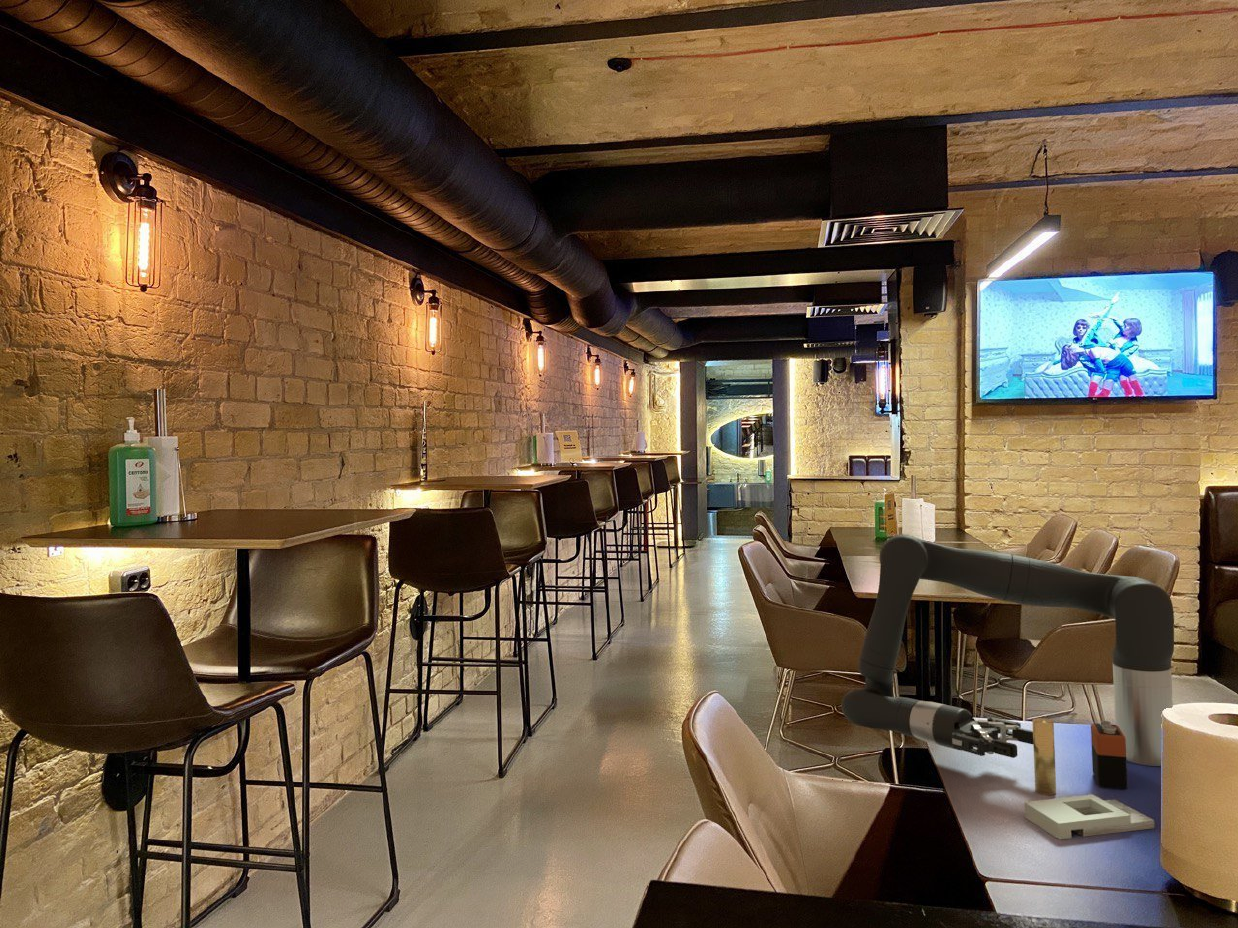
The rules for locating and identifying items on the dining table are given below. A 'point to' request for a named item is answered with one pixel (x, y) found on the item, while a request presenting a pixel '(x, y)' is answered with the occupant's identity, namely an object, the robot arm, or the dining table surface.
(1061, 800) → the plate with square hole
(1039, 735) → the pin
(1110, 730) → the battery
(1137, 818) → the chain end lower
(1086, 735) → the dining table surface
